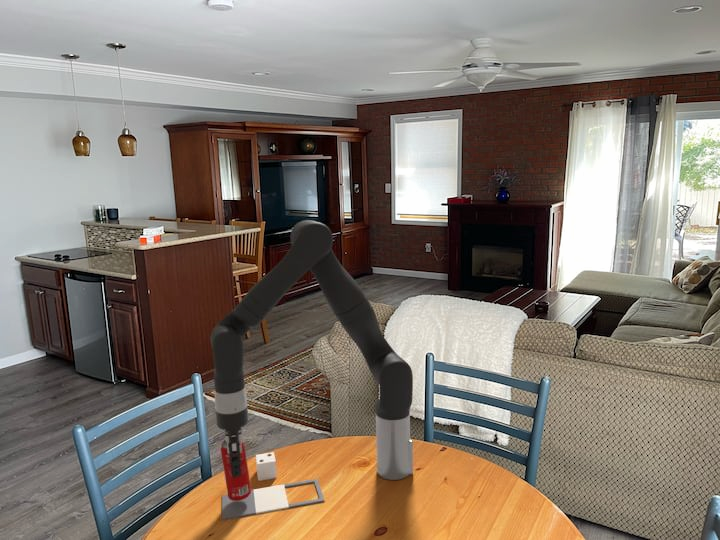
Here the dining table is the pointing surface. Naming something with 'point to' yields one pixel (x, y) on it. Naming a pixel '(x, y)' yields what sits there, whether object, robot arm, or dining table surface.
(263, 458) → the die
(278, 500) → the grey frame tray
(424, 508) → the dining table surface
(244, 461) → the beverage can
